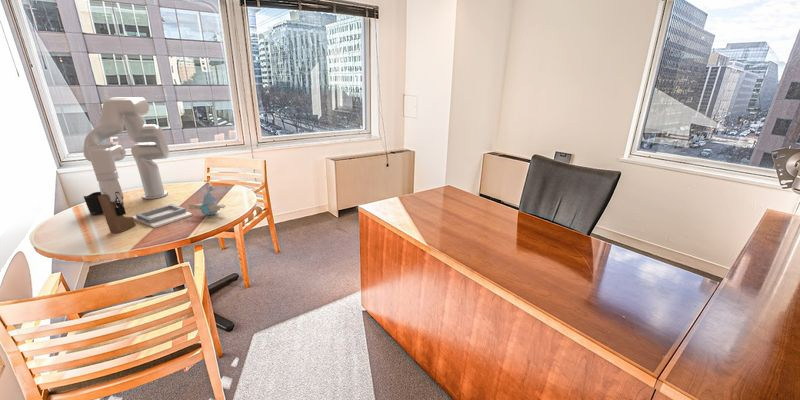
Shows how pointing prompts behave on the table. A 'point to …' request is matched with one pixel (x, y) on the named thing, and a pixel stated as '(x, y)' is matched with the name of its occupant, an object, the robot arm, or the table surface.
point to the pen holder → (94, 203)
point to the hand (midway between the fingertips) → (118, 213)
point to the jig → (162, 215)
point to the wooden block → (114, 216)
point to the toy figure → (208, 203)
